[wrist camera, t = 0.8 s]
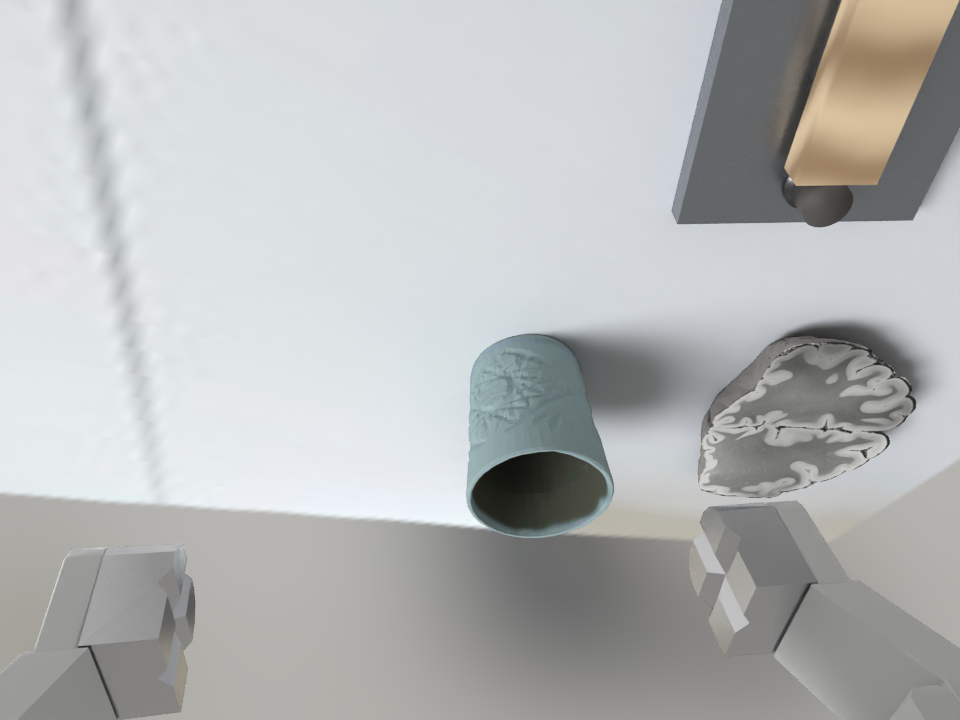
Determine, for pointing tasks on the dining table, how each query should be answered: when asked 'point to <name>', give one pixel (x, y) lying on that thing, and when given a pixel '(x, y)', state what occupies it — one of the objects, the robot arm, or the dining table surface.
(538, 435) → the teal textured cup
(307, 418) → the dining table surface
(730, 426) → the brain section slice
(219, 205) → the dining table surface
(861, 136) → the swing bar
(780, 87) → the gray base panel
